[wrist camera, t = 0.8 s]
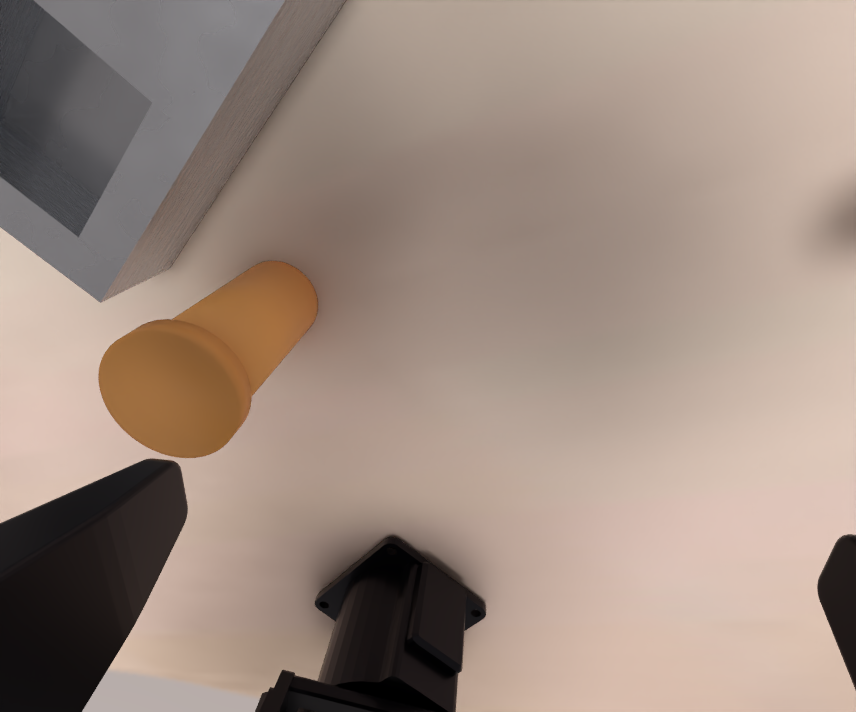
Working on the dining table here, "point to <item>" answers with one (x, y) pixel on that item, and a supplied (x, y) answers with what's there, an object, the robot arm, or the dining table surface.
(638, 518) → the dining table surface
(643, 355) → the dining table surface
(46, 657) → the robot arm
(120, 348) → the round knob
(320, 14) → the grey slotted base
